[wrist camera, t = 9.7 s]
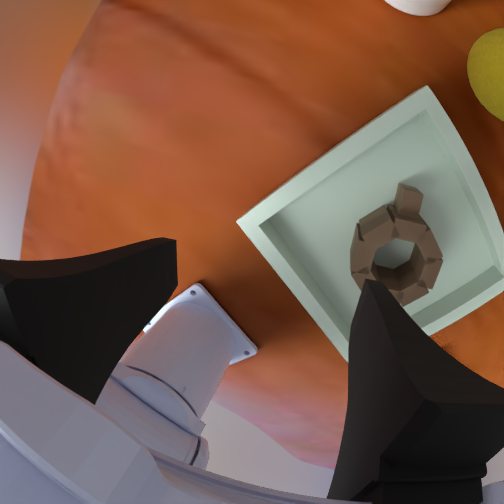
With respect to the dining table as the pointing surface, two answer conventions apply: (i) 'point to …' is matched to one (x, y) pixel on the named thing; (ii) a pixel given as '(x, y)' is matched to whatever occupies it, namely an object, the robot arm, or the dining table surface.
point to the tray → (383, 193)
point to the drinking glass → (419, 6)
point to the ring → (387, 229)
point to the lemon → (488, 71)
